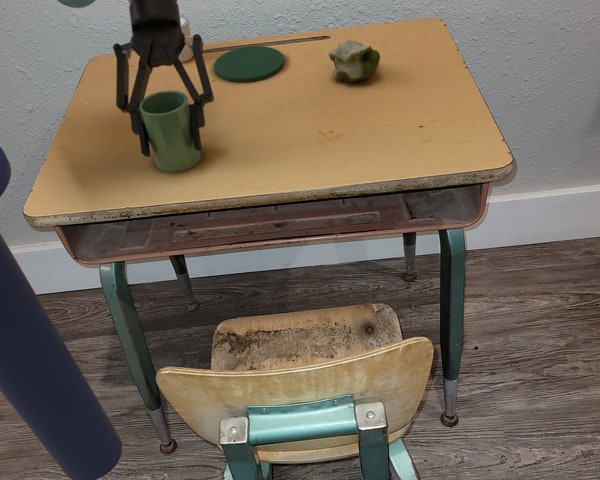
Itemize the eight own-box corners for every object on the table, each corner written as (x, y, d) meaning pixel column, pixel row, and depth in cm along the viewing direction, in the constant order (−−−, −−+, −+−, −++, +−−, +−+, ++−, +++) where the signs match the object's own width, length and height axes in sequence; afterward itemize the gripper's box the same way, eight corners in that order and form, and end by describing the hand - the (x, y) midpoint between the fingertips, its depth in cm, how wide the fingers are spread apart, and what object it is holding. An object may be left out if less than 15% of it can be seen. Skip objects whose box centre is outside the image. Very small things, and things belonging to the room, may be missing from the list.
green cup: (165, 177, 94) (148, 120, 87) (149, 156, 99) (132, 100, 92) (207, 161, 96) (194, 104, 89) (191, 141, 101) (177, 85, 94)
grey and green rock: (383, 90, 110) (380, 52, 103) (333, 97, 111) (327, 61, 105) (378, 58, 115) (376, 20, 108) (331, 66, 116) (325, 29, 110)
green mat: (232, 89, 112) (231, 85, 112) (203, 63, 121) (203, 59, 121) (296, 68, 116) (296, 64, 116) (264, 43, 125) (264, 39, 125)
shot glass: (197, 61, 122) (189, 26, 117) (163, 66, 122) (155, 32, 117) (194, 47, 127) (187, 13, 122) (162, 52, 126) (154, 18, 121)
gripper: (221, 7, 96) (239, 149, 96) (96, 22, 96) (114, 164, 96) (215, -16, 88) (234, 138, 89) (79, 0, 88) (99, 154, 89)
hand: (172, 151), depth 93 cm, fingers closed on green cup, 7 cm apart
